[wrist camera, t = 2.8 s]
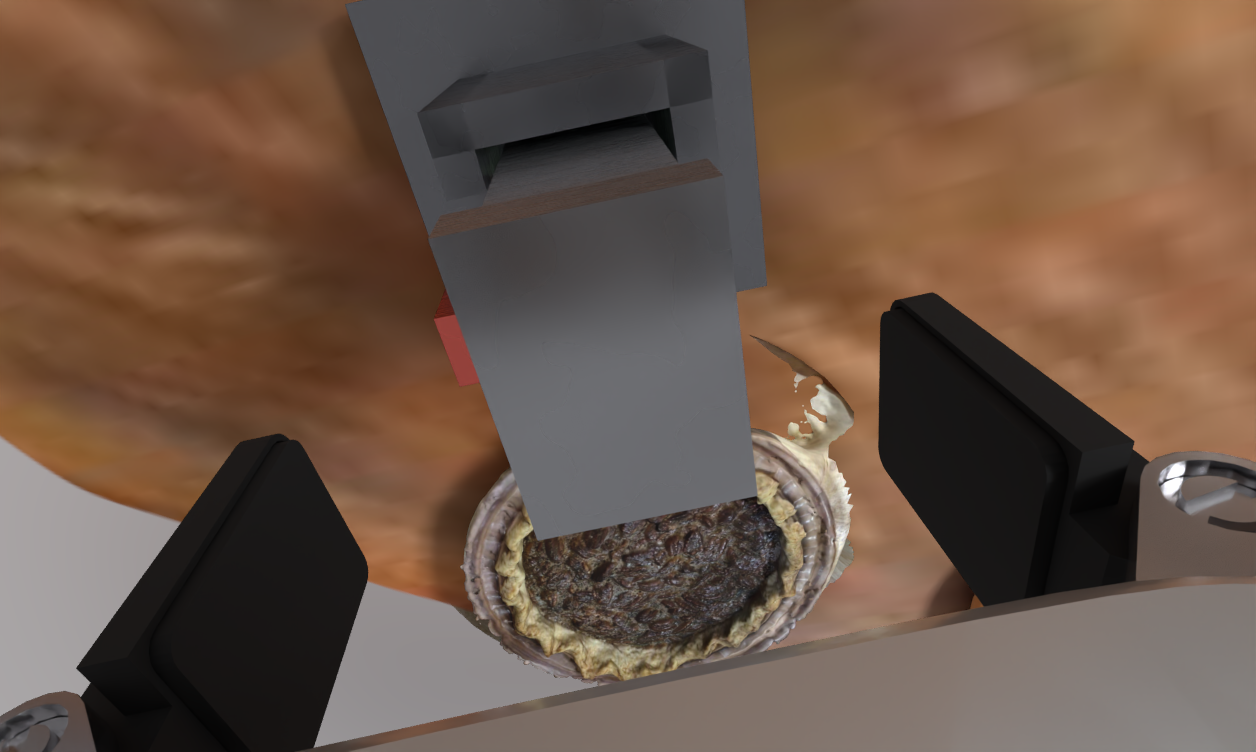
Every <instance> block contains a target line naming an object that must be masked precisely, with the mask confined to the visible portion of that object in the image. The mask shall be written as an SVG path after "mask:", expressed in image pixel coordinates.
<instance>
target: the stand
mask: <svg viewBox="0 0 1256 752" xmlns="http://www.w3.org/2000/svg"><path fill="white" fill-rule="evenodd" d="M345 6H346V9H347V11H348V14H349V17H350V20H351V22H352V25H353V28H354V31H355V34H356V36H357V39H358V42H359V45H360V47H361V50H362V53H363V56H364V58H365V61H366V64H367V67H368V69H369V72H370V75H371V78H372V80H373V83H374V86H375V89H376V91H377V94H378V97H379V100H380V102H381V105H382V108H383V111H384V113H385V116H386V119H387V122H388V125H389V127H390V130H391V133H392V136H393V138H394V141H395V144H396V147H397V149H398V152H399V155H400V158H401V160H402V163H403V166H404V169H405V171H406V174H407V177H408V180H409V182H410V185H411V188H412V191H413V193H414V196H415V199H416V202H417V205H418V207H419V210H420V213H421V216H422V218H423V221H424V224H425V227H426V229H427V232H428V235H429V236H430V234H431V232H432V230H433V228H434V227H435V225H436V223H437V221H438V219H439V217H440V215H445V214H449V213H454V212H459V211H463V210H468V209H473V208H477V207H482V205H483V202H484V199H485V197H486V194H487V191H488V189H489V186H490V183H491V180H492V178H493V175H494V172H495V170H496V167H497V164H498V162H499V159H500V156H501V153H502V151H503V148H504V145H505V143H508V142H513V141H517V140H522V139H527V138H531V137H536V136H540V135H545V134H550V133H554V132H559V131H564V130H568V129H573V128H578V127H582V126H587V125H591V124H596V123H601V122H605V121H610V120H615V119H619V118H624V117H628V116H633V115H638V114H642V113H643V114H644V115H645V117H646V118H647V120H648V121H649V122H650V124H651V125H652V127H653V128H654V129H655V131H656V132H657V134H658V135H659V137H660V138H661V139H662V141H663V142H664V144H665V145H666V147H667V148H668V149H669V151H670V152H671V154H672V155H673V156H674V158H675V159H676V161H677V162H678V164H683V163H687V162H692V161H697V160H701V159H706V158H708V159H709V160H710V161H711V162H712V164H713V165H714V166H715V167H716V168H717V169H718V170H719V171H720V172H721V173H722V175H723V176H724V184H725V194H726V203H727V212H728V222H729V231H730V240H731V250H732V259H733V268H734V278H735V287H736V292H739V291H744V290H748V289H753V288H758V287H763V286H767V280H766V267H765V255H764V242H763V229H762V217H761V204H760V191H759V179H758V166H757V153H756V141H755V128H754V115H753V103H752V90H751V77H750V65H749V52H748V39H747V27H746V14H745V1H744V0H362V1H358V2H353V3H349V4H345ZM434 321H435V324H436V326H437V329H438V331H439V334H440V337H441V339H442V342H443V344H444V347H445V349H446V352H447V355H448V357H449V360H450V362H451V365H452V368H453V370H454V373H455V375H456V378H457V381H458V383H459V386H460V387H461V386H466V385H470V384H475V383H480V381H479V378H478V376H477V373H476V370H475V367H474V365H473V362H472V359H471V356H470V354H469V351H468V348H467V345H466V343H465V340H464V337H463V335H462V332H461V329H460V326H459V324H458V321H457V318H456V315H455V313H454V310H453V307H452V304H451V302H450V299H449V296H448V293H447V291H446V289H445V292H444V294H443V297H442V299H441V302H440V304H439V307H438V310H437V312H436V315H435V317H434Z"/></svg>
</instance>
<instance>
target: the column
mask: <svg viewBox="0 0 1256 752" xmlns="http://www.w3.org/2000/svg"><path fill="white" fill-rule="evenodd" d="M428 241H429V244H430V247H431V249H432V252H433V255H434V258H435V260H436V263H437V266H438V269H439V271H440V274H441V277H442V280H443V282H444V285H445V288H446V291H447V293H448V296H449V299H450V302H451V304H452V307H453V310H454V313H455V315H456V318H457V321H458V324H459V326H460V329H461V332H462V335H463V337H464V340H465V343H466V345H467V348H468V351H469V354H470V356H471V359H472V362H473V365H474V367H475V370H476V373H477V376H478V378H479V381H480V384H481V387H482V389H483V392H484V395H485V398H486V400H487V403H488V406H489V409H490V411H491V414H492V417H493V420H494V422H495V425H496V428H497V431H498V433H499V436H500V439H501V441H502V444H503V447H504V450H505V452H506V455H507V458H508V461H509V463H510V466H511V469H512V472H513V474H514V477H515V480H516V483H517V485H518V488H519V491H520V494H521V496H522V499H523V502H524V505H525V507H526V510H527V513H528V516H529V518H530V521H531V524H532V527H533V529H534V532H535V535H536V537H537V540H538V541H539V540H544V539H549V538H554V537H559V536H564V535H568V534H573V533H578V532H583V531H588V530H593V529H598V528H603V527H608V526H612V525H617V524H622V523H627V522H632V521H637V520H642V519H647V518H652V517H656V516H661V515H666V514H671V513H676V512H681V511H686V510H691V509H696V508H700V507H705V506H710V505H715V504H720V503H725V502H730V501H735V500H739V499H744V498H749V497H754V496H758V493H757V483H756V474H755V465H754V455H753V446H752V437H751V427H750V418H749V409H748V399H747V390H746V381H745V371H744V362H743V352H742V343H741V334H740V324H739V315H738V306H737V296H736V287H735V278H734V268H733V259H732V250H731V240H730V231H729V222H728V212H727V203H726V194H725V184H724V176H723V175H722V173H721V172H720V171H719V170H718V169H717V168H716V167H715V166H714V165H713V164H712V162H711V161H710V160H709V159H708V158H706V159H701V160H697V161H692V162H687V163H683V164H678V162H677V161H676V159H675V158H674V156H673V155H672V154H671V152H670V151H669V149H668V148H667V147H666V145H665V144H664V142H663V141H662V139H661V138H660V137H659V135H658V134H657V132H656V131H655V129H654V128H653V127H652V125H651V124H650V122H649V121H648V120H647V118H646V117H645V115H644V114H643V113H642V114H638V115H633V116H628V117H624V118H619V119H615V120H610V121H605V122H601V123H596V124H591V125H587V126H582V127H578V128H573V129H568V130H564V131H559V132H554V133H550V134H545V135H540V136H536V137H531V138H527V139H522V140H517V141H513V142H508V143H505V145H504V148H503V151H502V153H501V156H500V159H499V162H498V164H497V167H496V170H495V172H494V175H493V178H492V180H491V183H490V186H489V189H488V191H487V194H486V197H485V199H484V202H483V205H482V207H477V208H473V209H468V210H463V211H459V212H454V213H449V214H445V215H440V217H439V219H438V221H437V223H436V225H435V227H434V228H433V230H432V232H431V234H430V236H429V238H428Z"/></svg>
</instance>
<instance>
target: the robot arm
mask: <svg viewBox="0 0 1256 752" xmlns="http://www.w3.org/2000/svg"><path fill="white" fill-rule="evenodd" d="M1133 445H1134V441H1133V440H1132V439H1131V438H1129V437H1128V436H1127V435H1125V434H1124V433H1123V432H1121V431H1120V430H1119V429H1117V428H1116V427H1115V426H1113V425H1112V424H1110V423H1109V422H1108V421H1106V420H1105V419H1104V418H1102V417H1101V416H1100V415H1098V414H1097V413H1096V412H1094V411H1093V410H1092V409H1090V408H1089V407H1088V406H1086V405H1085V404H1084V403H1082V402H1081V401H1080V400H1078V399H1077V398H1076V397H1074V396H1073V395H1072V394H1070V393H1069V392H1067V391H1066V390H1065V389H1063V388H1062V387H1061V386H1059V385H1058V384H1057V383H1055V382H1054V381H1053V380H1051V379H1050V378H1049V377H1047V376H1046V375H1045V374H1043V373H1042V372H1041V371H1039V370H1038V369H1037V368H1035V367H1034V366H1033V365H1031V364H1030V363H1029V362H1027V361H1026V360H1024V359H1023V358H1022V357H1020V356H1019V355H1018V354H1016V353H1015V352H1014V351H1012V350H1011V349H1010V348H1008V347H1007V346H1006V345H1004V344H1003V343H1002V342H1000V341H999V340H998V339H996V338H995V337H994V336H992V335H991V334H990V333H988V332H987V331H986V330H984V329H983V328H981V327H980V326H979V325H977V324H976V323H975V322H973V321H972V320H971V319H969V318H968V317H967V316H965V315H964V314H963V313H961V312H960V311H959V310H957V309H956V308H955V307H953V306H952V305H951V304H949V303H948V302H947V301H945V300H944V299H943V298H941V297H940V296H938V295H937V294H935V293H927V294H922V295H918V296H913V297H908V298H904V299H899V300H895V301H894V302H893V303H892V306H891V308H890V311H887V312H884V313H883V314H882V316H881V322H880V379H879V441H878V448H879V455H880V459H881V462H882V464H883V467H884V468H885V470H886V472H887V473H888V474H889V476H890V477H891V479H892V480H893V481H894V483H895V484H896V485H897V487H898V488H899V490H900V491H901V492H902V494H903V495H904V497H905V498H906V499H907V501H908V502H909V504H910V505H911V506H912V508H913V509H914V510H915V512H916V513H917V515H918V516H919V517H920V519H921V520H922V522H923V523H924V524H925V526H926V527H927V528H928V530H929V531H930V533H931V534H932V535H933V537H934V538H935V540H936V541H937V542H938V544H939V545H940V546H941V548H942V549H943V551H944V552H945V553H946V555H947V556H948V558H949V559H950V560H951V562H952V563H953V565H954V566H955V567H956V569H957V570H958V571H959V573H960V574H961V576H962V577H963V578H964V580H965V581H966V583H967V584H968V585H969V587H970V588H971V589H972V591H973V592H974V594H975V595H976V596H977V598H978V599H979V601H980V602H981V603H982V605H983V606H984V607H980V608H974V609H969V610H964V611H959V612H953V613H948V614H943V615H938V616H932V617H927V618H922V619H917V620H912V621H908V622H903V623H898V624H893V625H888V626H883V627H879V628H874V629H869V630H864V631H859V632H855V633H850V634H845V635H840V636H835V637H830V638H826V639H821V640H816V641H811V642H806V643H801V644H797V645H792V646H787V647H782V648H777V649H773V650H768V651H763V652H758V653H753V654H748V655H744V656H739V657H734V658H729V659H724V660H719V661H715V662H710V663H705V664H701V665H696V666H691V667H686V668H682V669H677V670H672V671H668V672H663V673H658V674H653V675H649V676H644V677H639V678H635V679H630V680H625V681H620V682H616V683H611V684H606V685H602V686H597V687H593V688H588V689H583V690H578V691H574V692H569V693H564V694H560V695H555V696H550V697H546V698H541V699H536V700H531V701H527V702H522V703H517V704H513V705H509V706H503V707H499V708H494V709H490V710H485V711H480V712H475V713H471V714H467V715H462V716H457V717H453V718H448V719H443V720H439V721H434V722H430V723H426V724H421V725H416V726H411V727H407V728H402V729H398V730H393V731H389V732H384V733H379V734H375V735H370V736H366V737H361V738H357V739H352V740H347V741H343V742H339V743H334V744H329V745H325V746H321V747H316V748H314V745H315V742H316V738H317V735H318V732H319V729H320V726H321V723H322V720H323V717H324V714H325V711H326V708H327V704H328V701H329V698H330V695H331V692H332V689H333V686H334V683H335V680H336V676H337V674H338V670H339V667H340V664H341V661H342V658H343V655H344V652H345V649H346V646H347V643H348V640H349V636H350V633H351V630H352V627H353V624H354V620H355V618H356V615H357V612H358V608H359V605H360V602H361V599H362V596H363V593H364V590H365V587H366V584H367V580H368V566H367V562H366V559H365V557H364V555H363V553H362V551H361V550H360V548H359V546H358V544H357V542H356V541H355V539H354V537H353V535H352V534H351V532H350V530H349V528H348V526H347V525H346V523H345V521H344V519H343V518H342V516H341V514H340V512H339V510H338V509H337V507H336V505H335V503H334V501H333V500H332V498H331V496H330V494H329V493H328V491H327V489H326V487H325V485H324V484H323V482H322V480H321V478H320V477H319V475H318V473H317V471H316V469H315V468H314V466H313V464H312V462H311V460H310V459H309V457H308V455H307V453H306V452H305V450H304V448H303V447H302V445H301V444H300V443H299V442H298V441H296V440H289V439H288V438H287V437H286V436H284V435H282V434H274V435H270V436H265V437H261V438H256V439H251V440H247V441H243V442H240V443H239V444H238V445H237V446H236V447H235V449H234V450H233V452H232V453H231V454H230V456H229V457H228V458H227V460H226V461H225V463H224V464H223V465H222V467H221V468H220V470H219V471H218V472H217V474H216V475H215V476H214V478H213V479H212V481H211V482H210V483H209V485H208V486H207V488H206V489H205V490H204V492H203V493H202V494H201V496H200V497H199V499H198V500H197V501H196V503H195V504H194V506H193V507H192V508H191V510H190V511H189V512H188V514H187V515H186V517H185V518H184V519H183V521H182V522H181V524H180V525H179V526H178V528H177V529H176V531H175V532H174V533H173V535H172V536H171V538H170V539H169V540H168V542H167V543H166V544H165V546H164V547H163V549H162V550H161V551H160V553H159V554H158V556H157V557H156V558H155V560H154V561H153V562H152V564H151V565H150V567H149V568H148V569H147V571H146V572H145V573H144V575H143V576H142V578H141V579H140V580H139V582H138V583H137V585H136V586H135V587H134V589H133V590H132V592H131V593H130V594H129V596H128V597H127V599H126V600H125V601H124V603H123V604H122V605H121V607H120V608H119V609H118V611H117V612H116V614H115V615H114V616H113V618H112V619H111V621H110V622H109V623H108V625H107V626H106V628H105V629H104V630H103V632H102V633H101V634H100V636H99V637H98V639H97V640H96V641H95V643H94V644H93V646H92V647H91V648H90V650H89V651H88V652H87V654H86V655H85V657H84V658H83V659H82V661H81V662H80V664H79V665H78V666H77V668H76V669H77V670H78V671H79V672H81V673H82V674H83V675H84V676H85V677H86V678H87V679H88V680H89V681H90V682H91V683H90V685H89V686H88V688H87V689H86V691H85V692H84V694H83V695H82V696H81V697H80V696H79V695H78V694H75V693H71V692H67V691H63V692H55V693H48V694H45V695H42V696H40V697H37V698H35V699H32V700H29V701H26V702H25V703H23V704H21V705H19V706H17V707H16V708H14V709H12V710H10V711H8V712H6V713H5V714H3V715H1V716H0V752H1256V462H1253V461H1251V460H1247V459H1243V458H1239V457H1235V456H1231V455H1226V454H1222V453H1212V452H1202V451H1188V452H1174V453H1170V454H1167V455H1163V456H1160V457H1156V458H1155V459H1154V460H1152V461H1151V462H1149V461H1147V460H1146V459H1145V458H1144V457H1142V456H1141V455H1140V454H1138V453H1137V452H1136V451H1134V450H1133Z"/></svg>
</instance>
